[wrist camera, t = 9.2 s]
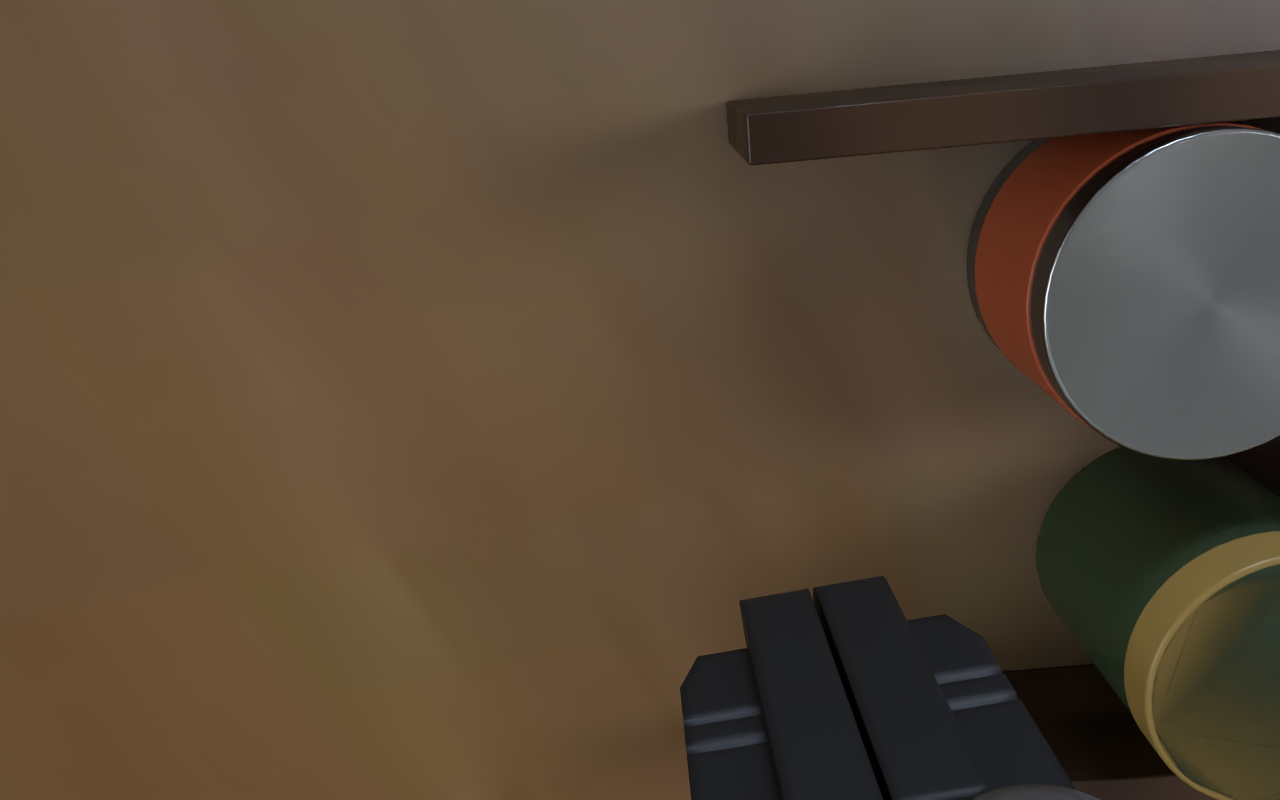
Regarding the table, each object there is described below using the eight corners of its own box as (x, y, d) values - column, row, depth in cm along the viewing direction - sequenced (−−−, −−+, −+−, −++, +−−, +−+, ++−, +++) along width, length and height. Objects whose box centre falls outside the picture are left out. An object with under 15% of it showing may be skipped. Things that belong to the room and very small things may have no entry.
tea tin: (1032, 654, 31) (1139, 820, 25) (1035, 448, 30) (1152, 566, 23) (1254, 636, 31) (1422, 797, 25) (1271, 427, 29) (1458, 541, 23)
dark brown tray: (765, 721, 32) (788, 841, 27) (725, 100, 27) (745, 114, 22) (1303, 678, 32) (1421, 791, 27) (1365, 42, 27) (1525, 42, 22)
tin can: (964, 398, 29) (1038, 478, 24) (962, 123, 27) (1043, 143, 22) (1235, 373, 29) (1371, 448, 24) (1254, 95, 27) (1407, 109, 22)
